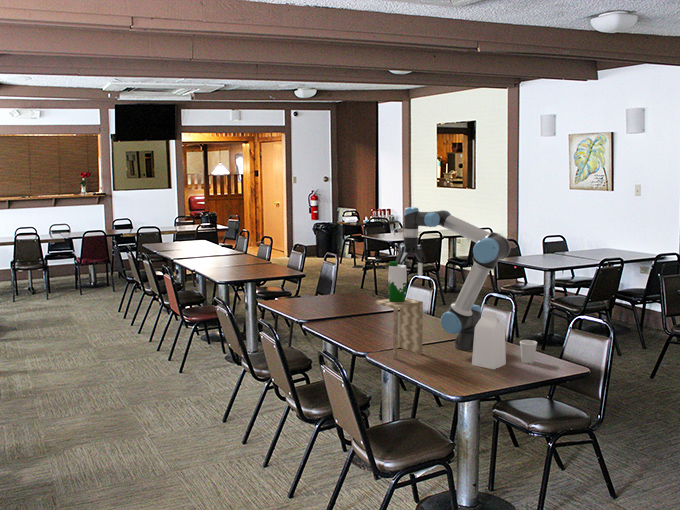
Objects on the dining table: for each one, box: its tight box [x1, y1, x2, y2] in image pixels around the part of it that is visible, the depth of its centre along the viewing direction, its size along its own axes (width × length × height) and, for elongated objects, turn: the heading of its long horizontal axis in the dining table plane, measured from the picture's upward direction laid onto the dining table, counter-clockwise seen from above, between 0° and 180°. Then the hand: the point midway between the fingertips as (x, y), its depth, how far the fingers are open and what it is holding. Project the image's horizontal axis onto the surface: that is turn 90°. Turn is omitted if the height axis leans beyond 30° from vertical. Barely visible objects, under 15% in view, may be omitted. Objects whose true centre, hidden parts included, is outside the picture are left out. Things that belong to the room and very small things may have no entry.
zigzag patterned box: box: [374, 297, 424, 360], centre depth 357 cm, size 16×18×27 cm
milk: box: [471, 310, 507, 370], centre depth 336 cm, size 12×12×26 cm
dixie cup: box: [519, 339, 538, 364], centre depth 342 cm, size 8×8×10 cm
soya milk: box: [387, 260, 408, 302], centre depth 353 cm, size 9×9×20 cm
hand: (410, 276), depth 373 cm, fingers open, 13 cm apart
